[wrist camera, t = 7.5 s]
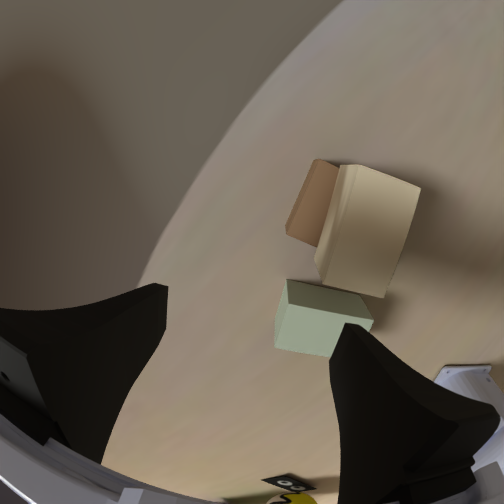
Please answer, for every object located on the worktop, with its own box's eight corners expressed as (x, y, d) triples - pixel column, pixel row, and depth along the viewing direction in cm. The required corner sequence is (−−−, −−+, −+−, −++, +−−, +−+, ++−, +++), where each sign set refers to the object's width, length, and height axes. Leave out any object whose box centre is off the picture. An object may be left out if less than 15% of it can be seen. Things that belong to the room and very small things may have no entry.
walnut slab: (396, 202, 18) (413, 208, 16) (367, 261, 20) (380, 276, 17) (312, 160, 18) (319, 158, 15) (285, 224, 20) (286, 234, 17)
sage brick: (359, 294, 21) (374, 320, 17) (344, 331, 22) (354, 360, 18) (286, 278, 21) (288, 303, 17) (274, 317, 22) (274, 347, 18)
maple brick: (340, 164, 15) (359, 164, 12) (391, 182, 15) (421, 188, 11) (313, 258, 17) (322, 284, 13) (363, 271, 17) (383, 298, 13)
